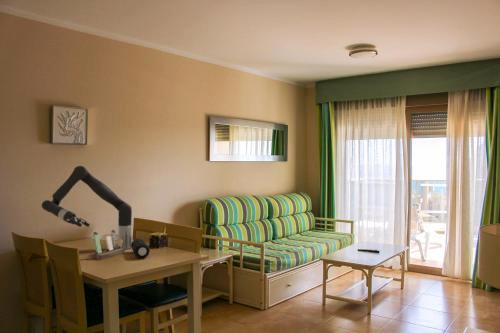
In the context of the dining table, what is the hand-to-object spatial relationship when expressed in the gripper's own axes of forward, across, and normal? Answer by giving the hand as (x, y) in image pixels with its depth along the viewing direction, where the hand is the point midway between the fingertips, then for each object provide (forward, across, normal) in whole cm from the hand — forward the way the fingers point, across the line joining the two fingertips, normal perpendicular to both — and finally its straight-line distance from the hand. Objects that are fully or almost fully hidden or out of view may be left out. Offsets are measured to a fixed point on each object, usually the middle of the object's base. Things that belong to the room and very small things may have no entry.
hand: (85, 225), depth 289 cm
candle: (+36, +48, +2) cm, 59 cm away
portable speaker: (+39, +17, +5) cm, 43 cm away
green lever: (+19, -1, +12) cm, 22 cm away
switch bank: (+21, +8, +13) cm, 26 cm away
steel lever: (+20, +16, +8) cm, 27 cm away
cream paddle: (+20, +10, +10) cm, 24 cm away
